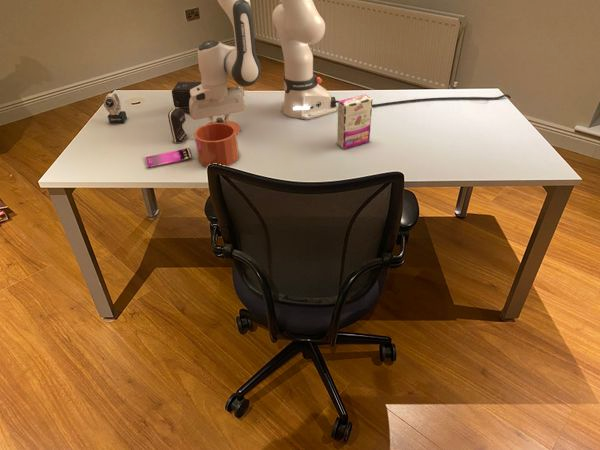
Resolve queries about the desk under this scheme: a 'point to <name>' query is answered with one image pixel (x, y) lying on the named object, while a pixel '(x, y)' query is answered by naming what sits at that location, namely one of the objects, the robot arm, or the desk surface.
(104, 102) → the watch
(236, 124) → the lid
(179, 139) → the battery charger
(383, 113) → the desk surface
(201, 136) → the pot
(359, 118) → the candy bar box
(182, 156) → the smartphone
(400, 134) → the desk surface
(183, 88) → the camera
